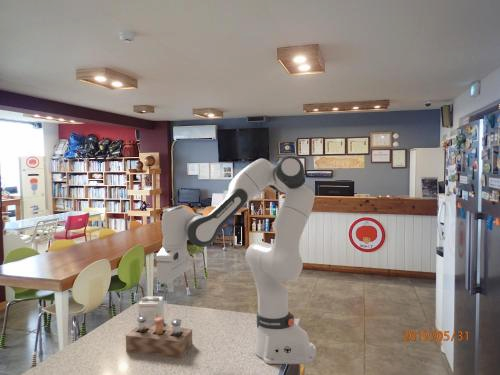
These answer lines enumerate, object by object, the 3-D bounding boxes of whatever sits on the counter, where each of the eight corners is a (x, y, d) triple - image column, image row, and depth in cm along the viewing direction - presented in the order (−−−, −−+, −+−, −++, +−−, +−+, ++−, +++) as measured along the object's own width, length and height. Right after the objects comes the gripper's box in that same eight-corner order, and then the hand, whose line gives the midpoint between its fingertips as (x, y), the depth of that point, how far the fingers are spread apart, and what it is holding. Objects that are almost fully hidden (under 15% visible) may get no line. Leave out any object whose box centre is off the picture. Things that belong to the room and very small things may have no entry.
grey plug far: (149, 332, 139) (148, 316, 139) (144, 336, 136) (144, 320, 135) (140, 331, 140) (140, 315, 140) (135, 335, 136) (135, 319, 136)
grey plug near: (183, 336, 136) (182, 319, 135) (179, 340, 132) (178, 323, 132) (174, 335, 137) (174, 318, 136) (170, 339, 133) (169, 322, 133)
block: (192, 344, 139) (192, 329, 138) (181, 357, 129) (181, 341, 128) (140, 338, 144) (140, 323, 143) (126, 351, 134) (125, 335, 134)
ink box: (164, 322, 159) (163, 292, 158) (159, 331, 150) (158, 299, 150) (145, 322, 159) (144, 292, 158) (138, 331, 151) (137, 299, 150)
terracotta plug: (166, 334, 137) (165, 317, 137) (161, 338, 134) (161, 321, 134) (157, 333, 138) (157, 317, 138) (152, 337, 135) (152, 321, 134)
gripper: (178, 244, 143) (179, 279, 144) (153, 257, 124) (154, 297, 124) (193, 245, 142) (194, 280, 143) (170, 258, 122) (171, 298, 123)
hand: (175, 288), depth 133 cm, fingers open, 6 cm apart
